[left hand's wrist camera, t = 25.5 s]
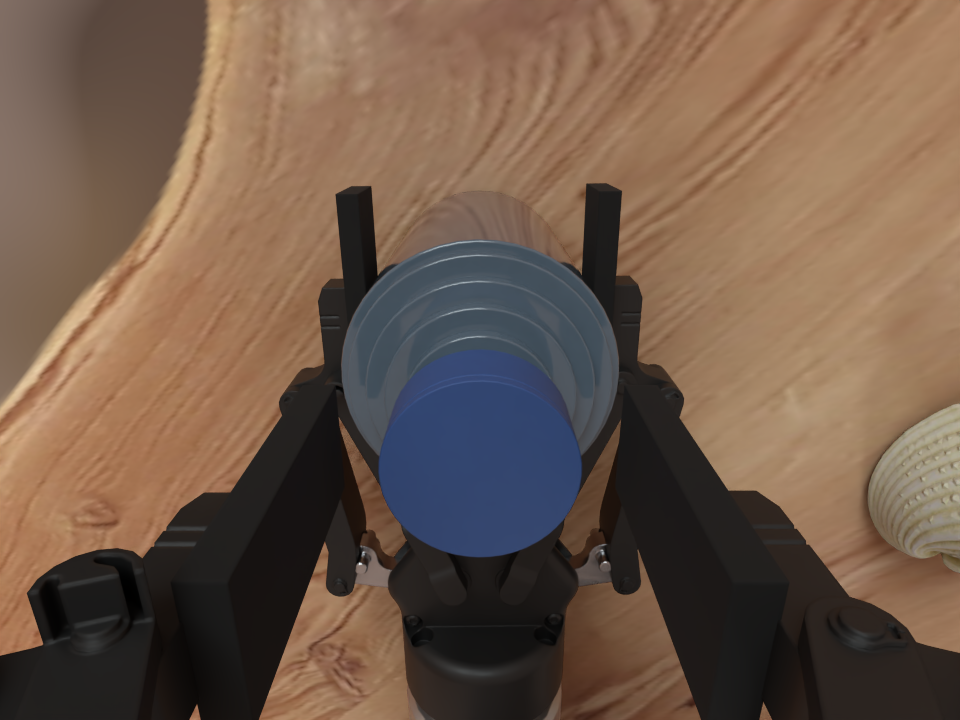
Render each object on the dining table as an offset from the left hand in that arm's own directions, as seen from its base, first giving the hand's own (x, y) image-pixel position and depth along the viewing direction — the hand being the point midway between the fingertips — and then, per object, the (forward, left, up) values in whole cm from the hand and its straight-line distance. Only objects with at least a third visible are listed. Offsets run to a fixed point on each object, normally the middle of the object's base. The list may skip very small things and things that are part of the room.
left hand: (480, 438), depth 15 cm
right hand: (+3, -4, -10) cm, 11 cm away
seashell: (-27, -6, -16) cm, 32 cm away
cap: (0, 0, +1) cm, 1 cm away
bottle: (0, 0, -16) cm, 16 cm away
